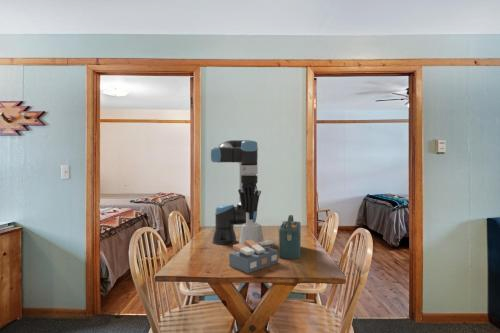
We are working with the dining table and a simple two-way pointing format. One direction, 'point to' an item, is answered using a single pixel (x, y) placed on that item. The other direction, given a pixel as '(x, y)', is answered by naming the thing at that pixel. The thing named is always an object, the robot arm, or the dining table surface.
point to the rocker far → (265, 243)
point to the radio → (290, 239)
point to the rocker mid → (254, 246)
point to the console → (253, 260)
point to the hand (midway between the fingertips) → (249, 226)
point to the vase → (251, 233)
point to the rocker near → (243, 249)
